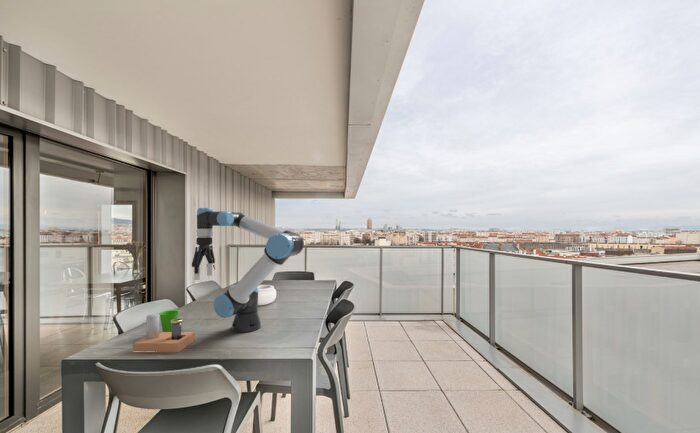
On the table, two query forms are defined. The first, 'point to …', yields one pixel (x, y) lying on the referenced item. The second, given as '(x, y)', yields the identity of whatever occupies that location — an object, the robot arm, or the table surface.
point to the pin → (176, 329)
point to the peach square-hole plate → (161, 338)
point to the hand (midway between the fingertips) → (203, 277)
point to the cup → (168, 319)
